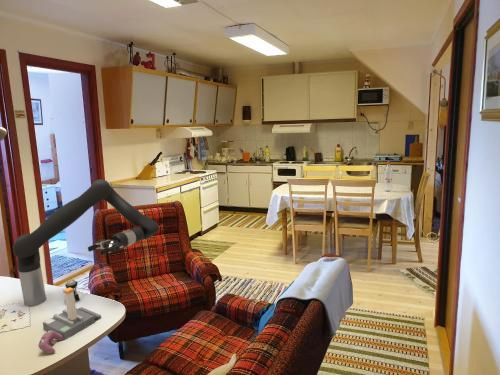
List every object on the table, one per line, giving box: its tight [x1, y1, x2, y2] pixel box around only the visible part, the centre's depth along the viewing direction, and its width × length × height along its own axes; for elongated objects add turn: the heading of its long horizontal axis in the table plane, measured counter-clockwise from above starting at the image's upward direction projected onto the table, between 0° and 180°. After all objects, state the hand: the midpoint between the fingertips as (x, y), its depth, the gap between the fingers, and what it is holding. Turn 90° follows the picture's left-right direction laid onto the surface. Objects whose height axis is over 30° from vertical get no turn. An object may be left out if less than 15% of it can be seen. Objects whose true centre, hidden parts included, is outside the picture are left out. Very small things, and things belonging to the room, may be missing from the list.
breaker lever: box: [63, 287, 77, 322], centre depth 156 cm, size 3×3×14 cm
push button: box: [64, 279, 80, 304], centre depth 179 cm, size 7×5×10 cm
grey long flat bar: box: [78, 306, 102, 322], centre depth 167 cm, size 14×3×1 cm, turn 58°
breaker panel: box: [42, 308, 96, 341], centre depth 159 cm, size 15×14×4 cm
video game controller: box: [37, 330, 64, 355], centre depth 145 cm, size 10×5×7 cm, turn 5°
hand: (94, 251), depth 167 cm, fingers open, 8 cm apart
